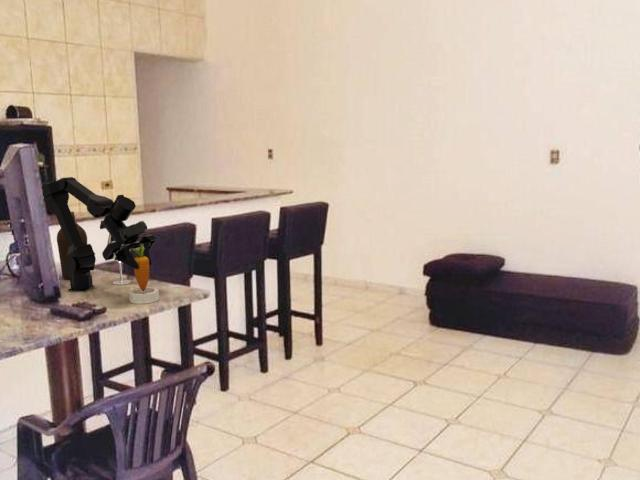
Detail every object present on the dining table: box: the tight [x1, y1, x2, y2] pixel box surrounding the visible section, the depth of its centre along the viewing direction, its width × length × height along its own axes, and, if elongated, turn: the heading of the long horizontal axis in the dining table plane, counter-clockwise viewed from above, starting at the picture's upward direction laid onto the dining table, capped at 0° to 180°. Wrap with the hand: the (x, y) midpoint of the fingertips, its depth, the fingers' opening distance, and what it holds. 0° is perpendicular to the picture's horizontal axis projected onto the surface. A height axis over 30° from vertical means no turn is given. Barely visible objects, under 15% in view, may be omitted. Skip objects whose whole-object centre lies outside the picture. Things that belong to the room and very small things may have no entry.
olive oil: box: [56, 211, 88, 281], centre depth 232 cm, size 11×11×25 cm
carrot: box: [132, 245, 150, 291], centre depth 198 cm, size 5×5×15 cm
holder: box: [128, 287, 160, 305], centre depth 199 cm, size 9×9×3 cm
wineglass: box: [106, 234, 132, 286], centre depth 223 cm, size 8×8×18 cm
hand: (144, 266), depth 197 cm, fingers closed on carrot, 5 cm apart
